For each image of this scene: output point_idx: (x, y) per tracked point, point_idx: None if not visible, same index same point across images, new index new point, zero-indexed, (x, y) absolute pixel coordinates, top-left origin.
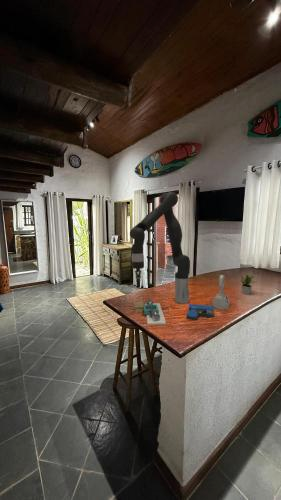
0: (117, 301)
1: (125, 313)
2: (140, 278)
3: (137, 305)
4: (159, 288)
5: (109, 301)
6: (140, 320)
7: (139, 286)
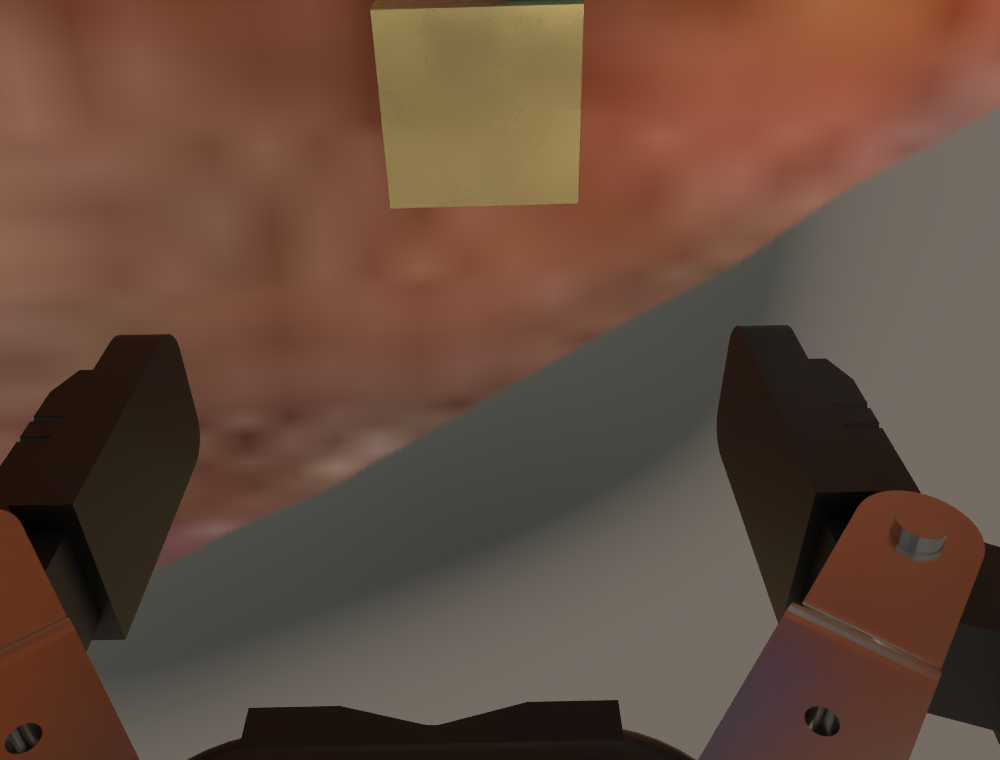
0: None
1: (597, 309)
2: (794, 607)
3: (576, 147)
4: None
5: None
6: (952, 36)
7: (851, 385)
